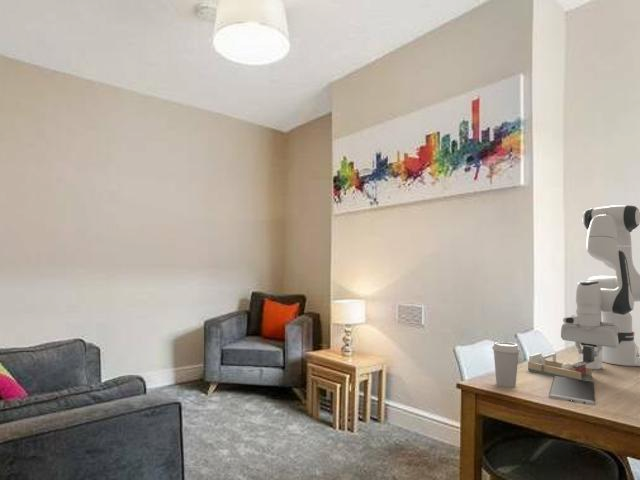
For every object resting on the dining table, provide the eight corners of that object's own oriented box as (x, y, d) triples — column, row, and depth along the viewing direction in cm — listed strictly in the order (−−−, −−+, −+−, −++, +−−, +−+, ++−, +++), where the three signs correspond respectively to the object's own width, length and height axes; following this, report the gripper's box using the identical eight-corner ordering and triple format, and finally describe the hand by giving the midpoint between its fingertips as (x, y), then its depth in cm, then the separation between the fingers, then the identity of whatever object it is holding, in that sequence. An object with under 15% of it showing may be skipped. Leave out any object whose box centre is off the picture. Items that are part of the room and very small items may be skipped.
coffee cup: (524, 385, 161) (524, 344, 162) (514, 390, 155) (514, 348, 155) (498, 379, 168) (498, 340, 168) (487, 384, 161) (487, 343, 162)
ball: (563, 371, 178) (563, 361, 178) (574, 373, 175) (574, 363, 175) (559, 372, 176) (559, 362, 176) (570, 375, 172) (570, 364, 173)
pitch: (540, 366, 189) (540, 350, 189) (591, 377, 173) (591, 359, 173) (528, 370, 182) (528, 353, 182) (580, 382, 166) (580, 363, 167)
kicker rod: (586, 370, 178) (586, 345, 179) (594, 371, 176) (594, 346, 176) (570, 376, 169) (570, 349, 169) (578, 378, 167) (578, 351, 167)
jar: (601, 366, 191) (601, 338, 192) (603, 370, 184) (603, 341, 185) (577, 363, 196) (577, 336, 196) (579, 367, 188) (579, 339, 189)
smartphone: (548, 399, 148) (548, 394, 148) (553, 379, 171) (553, 375, 171) (594, 407, 141) (594, 402, 141) (594, 385, 164) (594, 381, 164)
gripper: (621, 323, 171) (621, 358, 170) (565, 316, 187) (565, 349, 186) (615, 324, 167) (615, 361, 166) (559, 318, 183) (559, 351, 182)
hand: (588, 354), depth 177 cm, fingers open, 4 cm apart
